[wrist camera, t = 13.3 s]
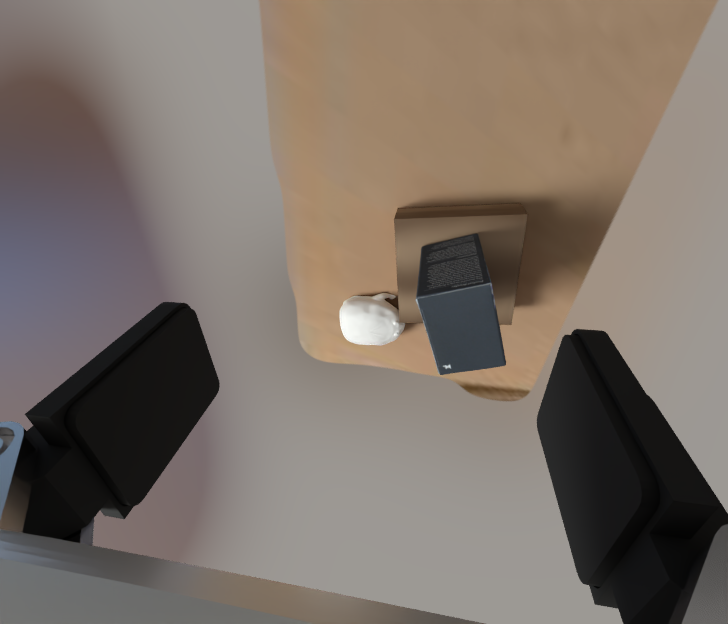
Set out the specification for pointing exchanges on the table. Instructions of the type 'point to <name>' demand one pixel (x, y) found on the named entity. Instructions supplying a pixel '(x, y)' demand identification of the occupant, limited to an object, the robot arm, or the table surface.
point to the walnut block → (436, 224)
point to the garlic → (370, 320)
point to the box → (459, 306)
